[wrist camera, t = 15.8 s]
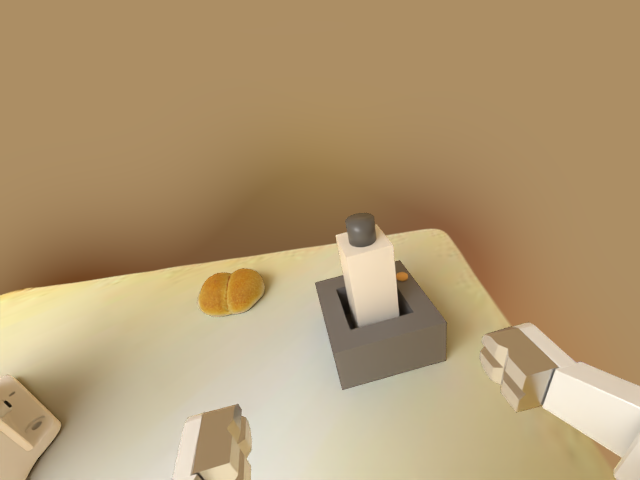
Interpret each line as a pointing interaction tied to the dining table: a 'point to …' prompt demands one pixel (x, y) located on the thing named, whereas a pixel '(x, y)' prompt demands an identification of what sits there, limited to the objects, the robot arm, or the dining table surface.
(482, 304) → the dining table surface
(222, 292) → the bread roll
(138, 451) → the dining table surface
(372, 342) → the socket block
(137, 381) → the dining table surface
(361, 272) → the plug
